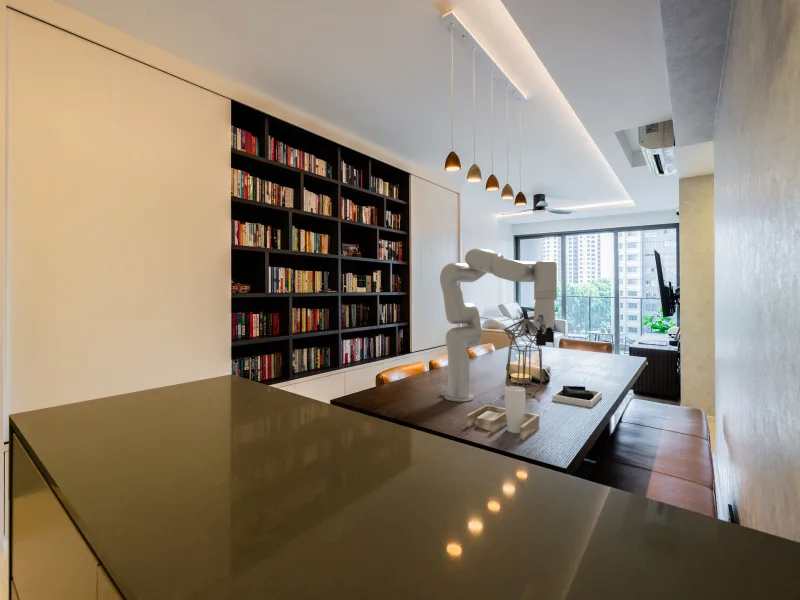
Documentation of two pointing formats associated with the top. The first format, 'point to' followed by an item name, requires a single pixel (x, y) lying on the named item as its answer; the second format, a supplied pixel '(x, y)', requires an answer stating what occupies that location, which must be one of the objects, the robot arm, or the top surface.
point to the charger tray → (575, 401)
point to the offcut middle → (482, 425)
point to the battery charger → (577, 392)
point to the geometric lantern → (523, 352)
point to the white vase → (515, 408)
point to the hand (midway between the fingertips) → (545, 343)
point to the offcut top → (487, 417)
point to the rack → (500, 421)
